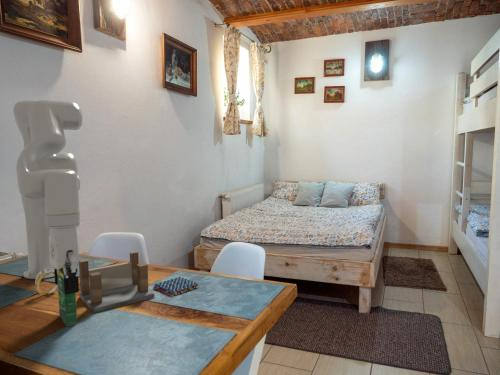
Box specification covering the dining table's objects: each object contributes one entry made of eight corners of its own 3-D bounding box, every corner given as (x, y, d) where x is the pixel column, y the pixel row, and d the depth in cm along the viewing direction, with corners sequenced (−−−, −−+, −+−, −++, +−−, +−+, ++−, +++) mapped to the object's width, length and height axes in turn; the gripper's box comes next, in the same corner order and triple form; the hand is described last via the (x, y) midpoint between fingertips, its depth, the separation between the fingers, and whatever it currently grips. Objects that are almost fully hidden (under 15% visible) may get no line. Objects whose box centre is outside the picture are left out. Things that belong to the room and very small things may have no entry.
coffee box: (58, 315, 99) (56, 266, 97) (70, 312, 100) (68, 264, 99) (65, 327, 92) (62, 274, 91) (77, 323, 94) (75, 272, 93)
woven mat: (151, 290, 118) (151, 283, 118) (179, 281, 126) (179, 275, 126) (171, 298, 111) (171, 292, 111) (199, 289, 119) (199, 282, 119)
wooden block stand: (79, 297, 111) (77, 260, 110) (135, 284, 122) (134, 250, 121) (94, 312, 100) (92, 271, 99) (154, 297, 111) (153, 260, 110)
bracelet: (38, 298, 110) (37, 271, 110) (33, 296, 112) (32, 269, 112) (62, 291, 116) (61, 266, 115) (57, 289, 118) (56, 264, 117)
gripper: (39, 218, 98) (43, 282, 99) (54, 226, 85) (58, 301, 86) (70, 215, 103) (73, 276, 104) (89, 222, 89) (92, 293, 91)
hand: (66, 287), depth 95 cm, fingers open, 9 cm apart
